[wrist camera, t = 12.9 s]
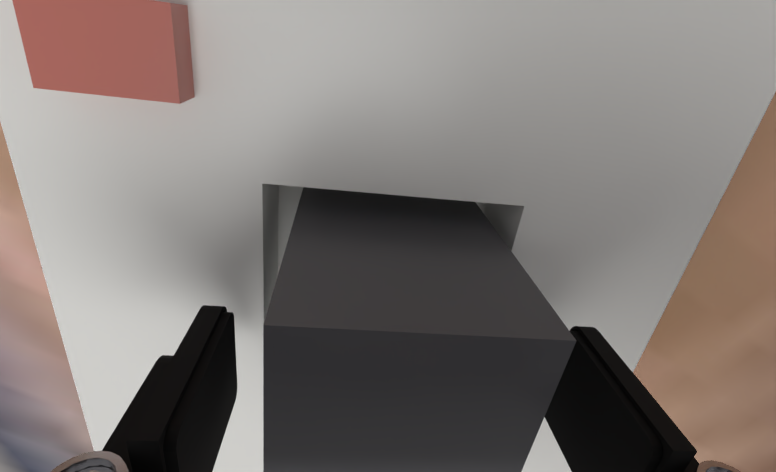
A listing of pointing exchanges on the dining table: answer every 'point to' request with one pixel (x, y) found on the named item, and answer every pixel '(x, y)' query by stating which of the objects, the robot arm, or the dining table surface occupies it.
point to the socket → (363, 155)
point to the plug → (404, 341)
